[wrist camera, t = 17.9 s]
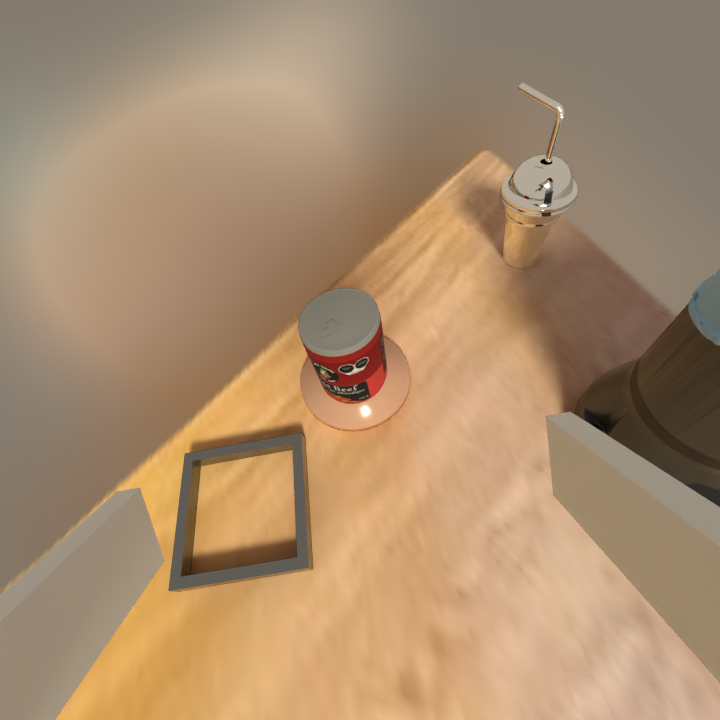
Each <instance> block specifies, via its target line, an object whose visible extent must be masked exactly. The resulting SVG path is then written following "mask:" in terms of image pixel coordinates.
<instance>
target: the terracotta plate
mask: <svg viewBox="0 0 720 720" xmlns="http://www.w3.org/2000/svg"><path fill="white" fill-rule="evenodd" d="M383 338H384V346H385V354H386V361H387V377H386V379H385V382H384V384H383V386H382V387H381V389H380V390H379V391H378V393H377V394H376V395H374V396H373V397H372V398H370V399H368V400H366V401H364V402H361V403H356V404H345V403H341V402H339V401H337V400H335V399H333V398H332V397H330V396H329V395H328V394H327V393H326V392H325V390H324V389H323V386H322V384H321V382H320V380H319V378H318V376H317V373H316V371H315V369H314V367H313V365H312V362H311V360H310V358H308V360H307V361H306V363H305V365H304V368H303V371H302V375H301V392H302V396H303V399H304V401H305V403H306V405H307V407H308V408H309V410H310V411H311V413H312V414H313V415H314V416H315V417H316V418H317V419H318V420H319V421H321V422H322V423H324V424H325V425H327V426H330V427H332V428H335V429H338V430H343V431H362V430H367V429H371V428H374V427H376V426H378V425H380V424H383V423H384V422H386V421H387V420H389V419H390V418H391V417H392V416H394V415H395V414H396V413H397V412H398V411H399V409H400V408H401V407H402V405H403V404H404V402H405V400H406V398H407V395H408V393H409V389H410V368H409V364H408V361H407V358H406V356H405V355H404V353H403V351H402V350H401V349H400V348H399V347H398V346H397V345H396V344H395V343H394V342H393V341H391V340H390V339H388V338H386V337H384V336H383Z"/></svg>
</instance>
